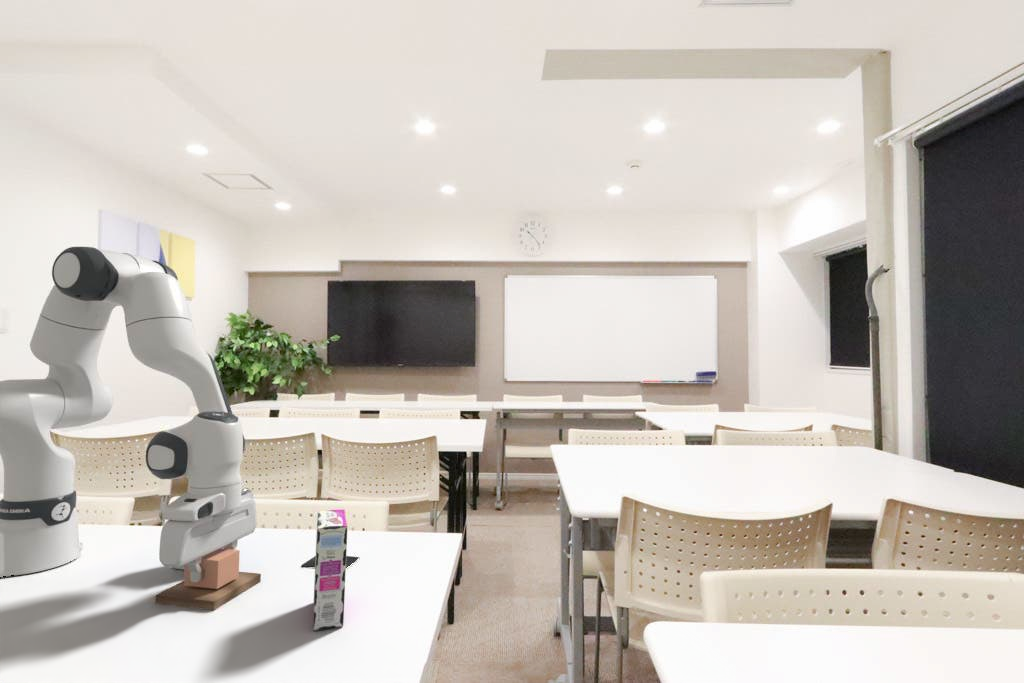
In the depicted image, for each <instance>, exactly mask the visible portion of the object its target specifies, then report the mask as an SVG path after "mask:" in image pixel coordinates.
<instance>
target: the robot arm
mask: <svg viewBox="0 0 1024 683" xmlns="http://www.w3.org/2000/svg"><path fill="white" fill-rule="evenodd" d="M52 264H53V265H52V269H51V276H52V281H53V283H54V285H53V286H52V288H51V290H50V291H49V293H48V295H47V297H46V299H45V301H44V304H43V307H42V309H41V311H40V314H39V316H38V320H37V323H36V325H35V328H34V331H33V334H32V337H31V340H30V343H29V348H30V351H31V353H32V354H33V356H34V357H35V358H36V359H38V360H39V361H41V363H44V364H45V365H47V366H48V368H49V370H48V374H47V376H46V377H45V378H37V379H36V378H35V379H33V378H31V379H30V378H29V379H28V378H27V379H26V378H25V379H6V380H0V456H1V460H2V464H3V498H2V499H0V577H1V578H4V577H3V576H6V577H12V576H11V575H14V576H19V575H20V576H22V575H26V574H27V575H28V574H33V573H36V572H37V573H38V572H41V571H46V570H51V569H53V568H57V567H60V566H63V565H66V564H68V563H70V561H71V562H73V561H74V559H75V560H76V559H77V558H79V557H80V556H81V552H80V551H81V550H82V549H83V548H84V544H83V542H80V535H79V534H80V532H79V521H78V520H79V518H78V514H77V512H76V511H74V509H75V508H76V507H77V501H78V496H77V491H76V490H75V477H76V476H75V475H76V463H77V462H76V457H75V456H74V454H73V453H71V451H69V450H67V449H65V447H64V448H63V447H60V446H57V445H56V444H54V441H53V440H52V436H51V430H55V429H56V430H57V429H65V428H76V427H81V426H86V425H89V424H92V423H95V422H98V421H102V420H104V419H105V418H106V417H107V416H108V415H109V413H110V412H111V410H112V408H113V405H114V396H113V393H112V391H111V389H110V388H109V386H108V385H107V384H106V383H105V382H103V381H102V379H101V377H100V376H99V372H98V367H97V366H98V363H97V362H98V356H99V352H100V349H101V345H102V341H103V339H104V335H105V333H106V330H107V327H108V324H109V321H110V318H111V314H112V311H113V310H114V309H115V308H116V307H122V310H123V313H124V322H125V323H124V324H125V331H126V337H127V343H128V346H129V348H130V351H131V353H132V355H133V356H134V358H135V359H136V360H138V361H139V362H140V363H141V364H143V365H145V366H146V367H147V368H150V369H152V370H155V371H157V372H161V373H164V374H166V375H169V376H172V377H174V378H176V379H177V380H180V381H181V382H182V383H184V384H185V385H186V386H187V387H188V388H189V389H190V391H191V392H192V396H193V398H194V401H195V405H196V407H197V410H198V413H197V414H195V415H194V416H193V418H191V420H189V421H188V422H186V423H184V424H181V425H179V426H176V427H172V428H169V429H166V430H162V431H159V432H158V433H156V434H154V436H152V437H151V439H150V440H149V443H148V444H147V447H146V450H145V463H146V467H147V468H148V470H149V472H150V473H151V474H152V475H153V476H155V477H157V478H158V479H160V480H176V479H177V480H178V479H181V478H186V479H188V483H187V491H185V492H184V493H182V494H181V495H180V496H179V497H177V498H176V499H175V500H173V501H172V502H170V503H169V504H167V505H166V506H165V507H164V508H163V509H162V513H161V514H162V519H163V520H166V522H165V523H164V524H163V526H162V528H161V531H160V538H159V549H158V551H159V553H158V554H159V558H158V559H159V562H160V563H161V565H162V566H164V567H167V568H172V567H181V566H183V565H186V566H187V568H188V569H189V571H190V580H191V582H199V581H200V580H202V579H204V578H205V575H204V574H205V569H201V568H200V565H199V563H201V560H202V556H204V555H206V554H209V553H211V552H213V551H215V550H217V549H219V548H221V547H224V546H225V548H224V549H231V550H237V547H238V542H239V540H240V539H242V538H244V537H247V536H249V535H251V534H254V532H255V530H256V528H257V524H258V523H257V522H258V521H257V519H258V518H257V505H256V501H255V500H254V492H253V491H252V490H251V489H249V488H248V487H245V488H242V483H243V480H242V479H243V478H242V474H241V464H242V461H243V458H244V456H243V455H244V453H245V449H246V440H245V436H244V433H243V428H242V423H241V420H240V419H239V416H236V415H235V414H233V410H232V408H231V405H230V402H229V398H228V396H227V394H226V391H225V387H224V385H223V381H222V379H221V375H220V373H219V369H218V367H217V365H216V363H215V361H214V359H213V357H212V356H211V354H209V353H208V352H207V351H206V349H204V347H203V345H201V342H200V340H199V339H198V337H197V335H196V332H195V329H194V326H193V320H192V316H191V314H192V313H191V312H190V307H189V304H188V301H187V298H186V295H185V293H184V290H183V287H182V285H181V284H180V281H179V279H178V276H177V274H176V272H175V271H174V269H172V268H171V267H170V266H168V265H166V264H164V263H163V262H159V261H157V260H151V259H149V258H148V259H147V258H145V257H142V256H138V255H135V254H130V253H127V252H118V251H111V250H103V249H99V248H98V249H97V248H95V247H91V246H71V247H68V248H65V249H63V250H62V251H61V252H60V253H59V255H57V256H56V258H55V260H54V261H53V263H52ZM82 547H83V548H82ZM81 548H82V549H81ZM80 549H81V550H80ZM79 555H80V556H79Z"/></svg>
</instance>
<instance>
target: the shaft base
mask: <svg viewBox="0 0 1024 683" xmlns="http://www.w3.org/2000/svg"><path fill="white" fill-rule="evenodd" d="M261 576H262V574H261V573H257V572H248V571H247V572H246V571H239V576H238V577H237V578H236V579H234V580H232V581H230V582H229V583H227V584H225V585H223V586H222V587H220V588H218V589H213V588H203V587H194V586H185V585H184V580H183V581H180V582H178V583H176V584H174V585H172V586H171V587H169V588H166V589H165V590H163V591H160V592H158V593H156V594H155V599H154V600H155V602H154V604H158V605H166V606H173V607H175V606H176V607H181V608H182V607H183V608H191V609H199V610H210V611H215V610H218V609H219V608H221V607H222V606H224V605H225V604H227V603H228V602H230V601H232V600H233V599H235V598H236V597H238V596H240V595H241V594H243V593H244V592H246V591H248V590H249V589H250V588H252V587H254V586H256V585H258V584H259V583H261V580H262V579H261Z"/></svg>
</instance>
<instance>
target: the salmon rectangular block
mask: <svg viewBox="0 0 1024 683" xmlns="http://www.w3.org/2000/svg"><path fill="white" fill-rule="evenodd" d="M199 565H200V568H201V569H205V574H204V575H205V578H204V579H202V580H200V581H199V582H191V580H190V571H189V569H188V568H187V566H186V565H185V570H184V571H183V572H184V573H183V574H184V576H183V581H184V585H185V586H194V587H203V588H213V589H218V588H220V587H222V586H223V585H225V584H227V583H229V582H230V581H232V580H234V579H236V578H237V577H238V576H239V572H240V550H239V549H235V550H231V549H220V548H219V549H217V550H215V551H213V552H211V553H209V554H206V555H204V556H202V560H201V563H199Z"/></svg>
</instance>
